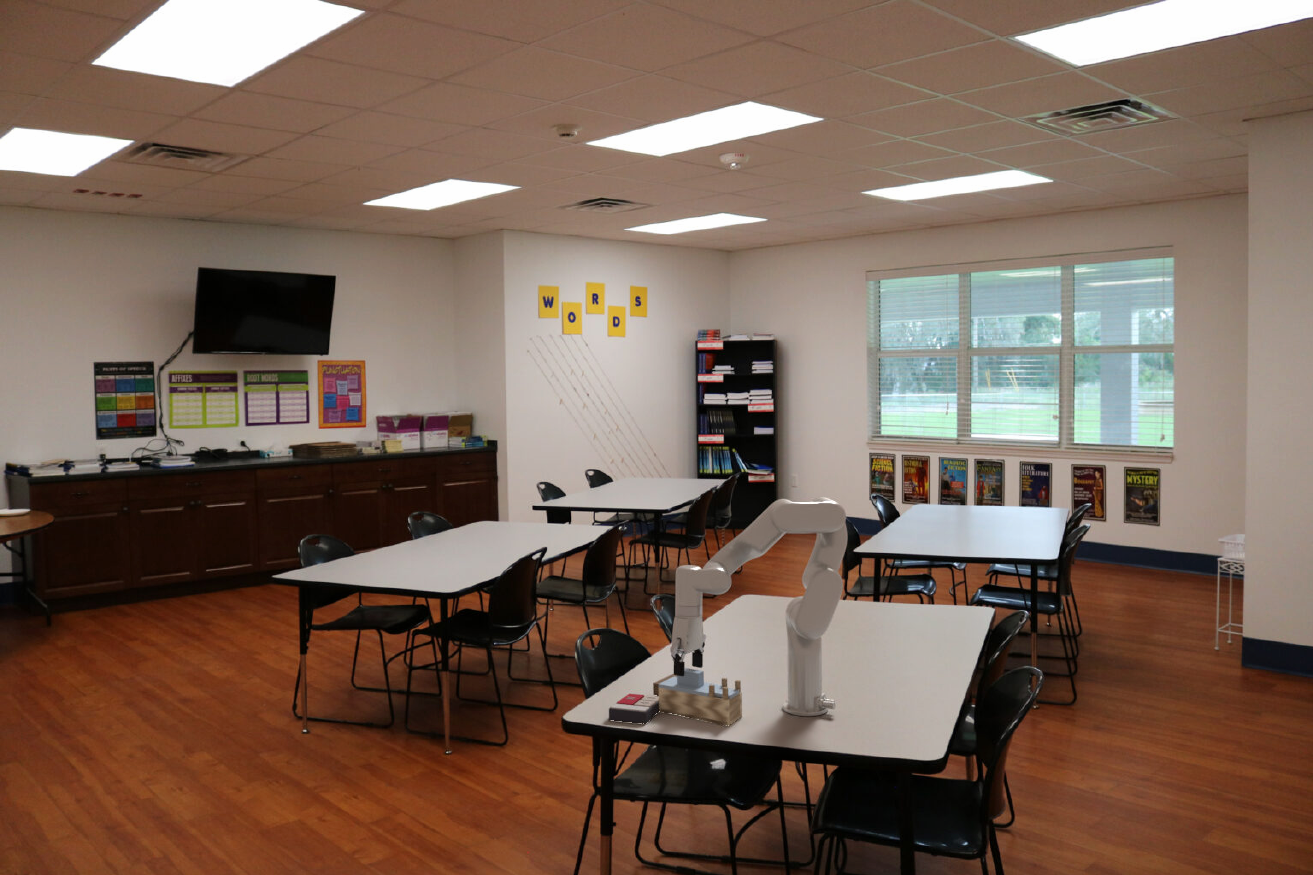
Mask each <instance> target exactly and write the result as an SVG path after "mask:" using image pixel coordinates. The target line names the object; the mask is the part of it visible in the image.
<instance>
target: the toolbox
mask: <svg viewBox="0 0 1313 875" xmlns="http://www.w3.org/2000/svg"><path fill="white" fill-rule="evenodd" d="M741 682H742V681H741V680H737V679H736V680H735V681H734V689H736V690H739V694H738V695H736V696H735V697H733V698H731V699H728V688H729V687H728V678H727V677H722V678H721V685H722V687H723V688H722V691H723V698H721V697H715V685H709V697H706V696H701V695H695V694H690V693H685V692H680V691H674V690H669V689H664V688H659V711H660V712H659V713H661V712H664V713H663V714H666V713H672V714H677V715H681V716H685V717H689V718H688V719H690V718H693V719H692V720H694V719H699V720H703V721H702V722H704V721H707V722H706V723H709V722H712V723H711V724H714V723H716V724H715V725H720V726H723V725H727V726H726V727H729V726H731V725H733V724H734V723H735V722H734V721H736V720H737V719H739V720H740V719H742V718H743V698H742V696H743V695H742V694H743V693H742V692H741V691H742V685H741ZM685 717H684V718H685ZM741 717H742V718H741ZM699 720H698V721H699ZM737 721H738V720H737ZM737 721H736V722H737ZM733 722H734V723H733ZM732 723H733V724H732ZM730 724H731V725H730ZM728 725H729V726H728Z"/></svg>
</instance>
